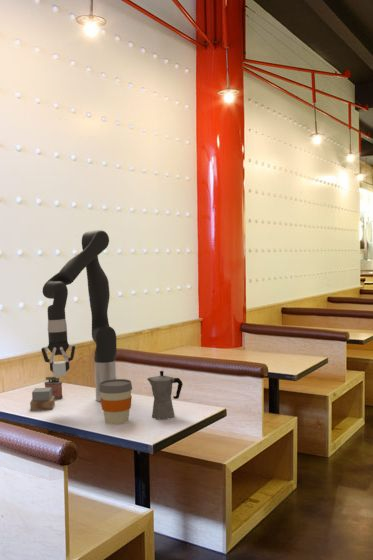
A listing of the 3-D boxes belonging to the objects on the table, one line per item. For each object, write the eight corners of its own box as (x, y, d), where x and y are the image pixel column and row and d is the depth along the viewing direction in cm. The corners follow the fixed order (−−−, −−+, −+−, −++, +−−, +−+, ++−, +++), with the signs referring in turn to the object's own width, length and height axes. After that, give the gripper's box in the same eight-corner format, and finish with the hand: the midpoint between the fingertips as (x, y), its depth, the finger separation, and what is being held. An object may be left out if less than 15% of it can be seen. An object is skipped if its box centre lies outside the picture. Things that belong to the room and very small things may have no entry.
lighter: (63, 397, 257) (62, 375, 256) (61, 399, 254) (60, 377, 253) (46, 397, 258) (45, 375, 257) (44, 399, 254) (43, 377, 254)
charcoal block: (52, 396, 244) (51, 387, 244) (49, 400, 237) (48, 391, 237) (35, 397, 243) (35, 388, 243) (32, 401, 236) (32, 392, 236)
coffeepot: (142, 418, 219) (141, 372, 218) (153, 411, 228) (152, 367, 227) (178, 421, 213) (176, 374, 212) (188, 414, 221) (186, 369, 221)
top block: (67, 373, 233) (66, 361, 232) (65, 375, 228) (65, 363, 227) (54, 374, 232) (54, 362, 232) (53, 376, 227) (52, 364, 227)
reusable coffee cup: (127, 426, 209) (126, 386, 208) (95, 425, 211) (94, 386, 211) (137, 416, 221) (135, 379, 220) (107, 416, 224) (105, 378, 223)
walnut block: (54, 404, 245) (54, 395, 245) (52, 410, 236) (52, 400, 236) (33, 406, 244) (33, 397, 244) (30, 411, 235) (30, 402, 235)
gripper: (75, 327, 233) (78, 368, 234) (40, 330, 232) (43, 370, 233) (74, 330, 226) (77, 372, 227) (38, 332, 224) (40, 374, 225)
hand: (59, 371), depth 230 cm, fingers closed on top block, 5 cm apart
